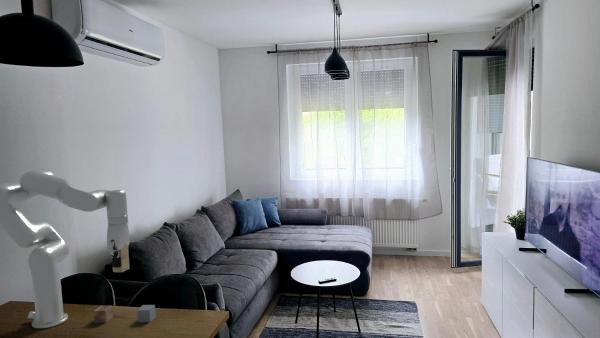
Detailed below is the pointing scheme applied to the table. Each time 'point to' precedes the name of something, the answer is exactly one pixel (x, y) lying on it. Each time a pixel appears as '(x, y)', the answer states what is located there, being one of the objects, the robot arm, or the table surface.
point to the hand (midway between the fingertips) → (120, 264)
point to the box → (123, 259)
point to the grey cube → (146, 313)
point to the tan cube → (103, 314)
